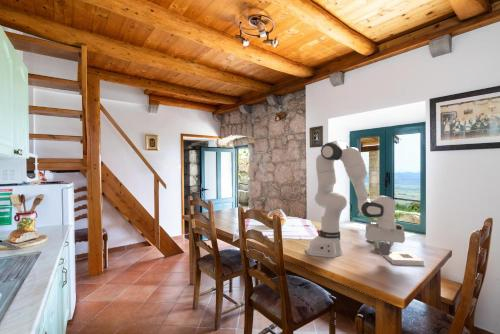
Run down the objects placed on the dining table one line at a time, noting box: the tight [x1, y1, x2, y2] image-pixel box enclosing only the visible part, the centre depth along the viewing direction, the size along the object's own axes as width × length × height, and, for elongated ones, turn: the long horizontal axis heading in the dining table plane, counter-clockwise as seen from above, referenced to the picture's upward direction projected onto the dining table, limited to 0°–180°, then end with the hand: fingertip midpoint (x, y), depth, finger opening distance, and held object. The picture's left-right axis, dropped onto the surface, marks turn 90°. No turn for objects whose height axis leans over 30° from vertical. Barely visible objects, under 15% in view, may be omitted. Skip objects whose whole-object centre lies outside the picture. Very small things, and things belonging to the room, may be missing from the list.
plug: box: [377, 241, 391, 256], centre depth 138 cm, size 4×5×6 cm
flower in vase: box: [365, 217, 377, 243], centre depth 179 cm, size 13×11×25 cm
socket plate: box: [382, 251, 425, 266], centre depth 143 cm, size 16×14×3 cm
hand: (383, 248), depth 139 cm, fingers closed on plug, 4 cm apart
